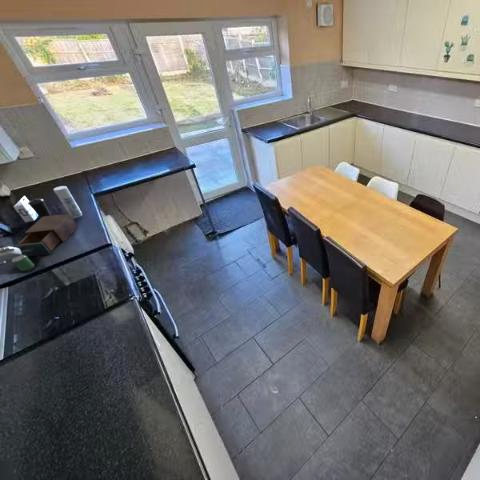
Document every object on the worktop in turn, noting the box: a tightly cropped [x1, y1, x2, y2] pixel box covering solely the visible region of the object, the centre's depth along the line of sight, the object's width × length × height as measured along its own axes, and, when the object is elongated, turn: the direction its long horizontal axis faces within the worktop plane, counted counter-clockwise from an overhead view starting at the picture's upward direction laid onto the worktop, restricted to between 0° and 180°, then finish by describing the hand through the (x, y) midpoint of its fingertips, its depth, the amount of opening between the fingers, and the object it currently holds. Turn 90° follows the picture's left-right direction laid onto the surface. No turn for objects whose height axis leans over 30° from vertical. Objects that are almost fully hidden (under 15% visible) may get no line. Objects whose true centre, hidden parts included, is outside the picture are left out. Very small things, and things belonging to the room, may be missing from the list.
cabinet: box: [24, 213, 79, 244], centre depth 161 cm, size 17×15×10 cm
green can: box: [11, 255, 35, 274], centre depth 139 cm, size 6×6×8 cm
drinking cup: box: [28, 191, 53, 219], centre depth 172 cm, size 8×8×20 cm
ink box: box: [13, 195, 40, 223], centre depth 175 cm, size 8×5×15 cm, turn 25°
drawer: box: [12, 231, 61, 257], centre depth 150 cm, size 20×13×8 cm, turn 10°
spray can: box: [53, 185, 83, 219], centre depth 175 cm, size 6×6×20 cm
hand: (1, 262), depth 125 cm, fingers closed
